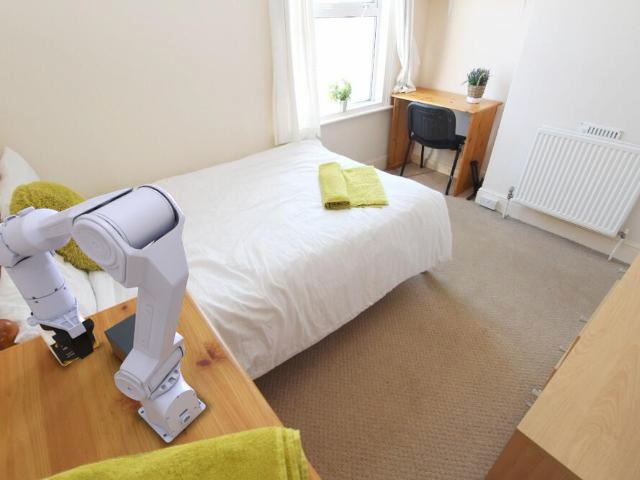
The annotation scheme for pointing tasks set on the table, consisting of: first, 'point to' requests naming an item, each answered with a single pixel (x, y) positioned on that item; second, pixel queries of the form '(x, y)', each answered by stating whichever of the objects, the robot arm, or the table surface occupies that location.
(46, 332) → the medicine bottle
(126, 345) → the grey and red box
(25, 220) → the robot arm
